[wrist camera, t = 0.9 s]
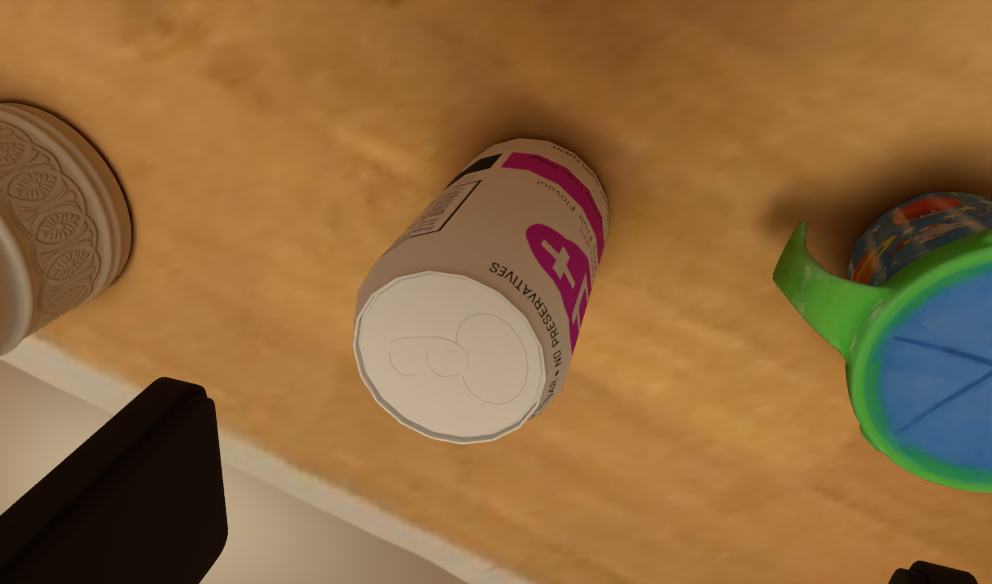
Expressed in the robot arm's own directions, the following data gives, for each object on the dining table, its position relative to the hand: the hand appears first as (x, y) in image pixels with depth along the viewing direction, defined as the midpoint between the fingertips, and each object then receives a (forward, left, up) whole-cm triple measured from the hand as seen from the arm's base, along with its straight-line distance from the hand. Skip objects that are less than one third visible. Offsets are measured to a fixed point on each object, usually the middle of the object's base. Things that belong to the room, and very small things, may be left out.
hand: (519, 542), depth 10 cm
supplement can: (+4, -7, -29) cm, 30 cm away
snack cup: (+11, +11, -29) cm, 32 cm away
